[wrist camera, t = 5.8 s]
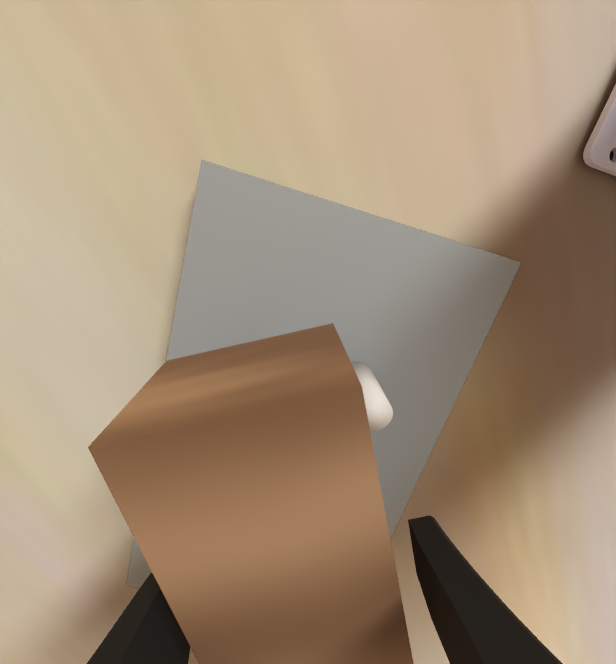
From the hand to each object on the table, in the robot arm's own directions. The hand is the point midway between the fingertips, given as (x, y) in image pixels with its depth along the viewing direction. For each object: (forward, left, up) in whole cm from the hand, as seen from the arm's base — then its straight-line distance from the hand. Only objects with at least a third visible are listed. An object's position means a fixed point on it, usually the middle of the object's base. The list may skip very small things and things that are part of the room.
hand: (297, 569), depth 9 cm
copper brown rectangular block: (0, 0, -2) cm, 2 cm away
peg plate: (0, 0, -7) cm, 7 cm away
